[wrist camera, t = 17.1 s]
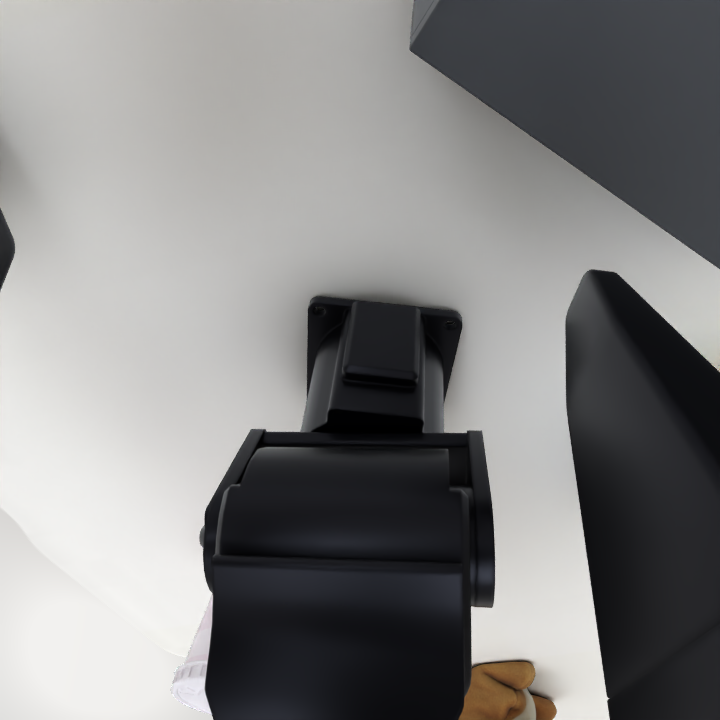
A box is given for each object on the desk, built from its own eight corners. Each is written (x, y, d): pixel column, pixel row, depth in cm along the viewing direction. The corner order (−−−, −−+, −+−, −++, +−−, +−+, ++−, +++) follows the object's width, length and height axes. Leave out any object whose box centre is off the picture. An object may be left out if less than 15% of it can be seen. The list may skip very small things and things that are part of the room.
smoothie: (293, 510, 37) (241, 782, 27) (324, 562, 41) (288, 816, 31) (199, 517, 39) (116, 777, 29) (238, 567, 43) (177, 809, 33)
